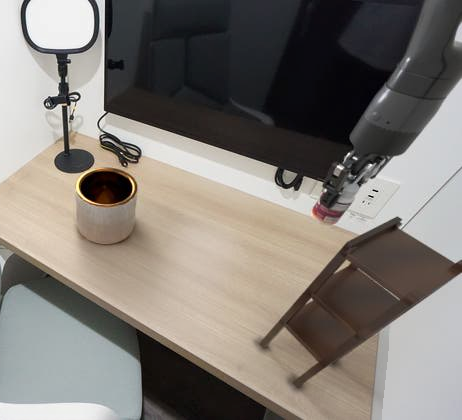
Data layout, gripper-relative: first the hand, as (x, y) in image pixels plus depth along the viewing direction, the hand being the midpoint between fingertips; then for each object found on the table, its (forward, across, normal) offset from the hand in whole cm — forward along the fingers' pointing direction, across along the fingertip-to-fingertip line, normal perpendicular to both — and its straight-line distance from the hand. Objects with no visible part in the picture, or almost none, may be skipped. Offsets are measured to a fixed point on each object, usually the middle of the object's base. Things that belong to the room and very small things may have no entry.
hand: (335, 200), depth 59 cm
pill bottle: (+5, 0, 0) cm, 5 cm away
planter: (+31, -28, +39) cm, 57 cm away
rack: (+31, -8, -14) cm, 35 cm away
